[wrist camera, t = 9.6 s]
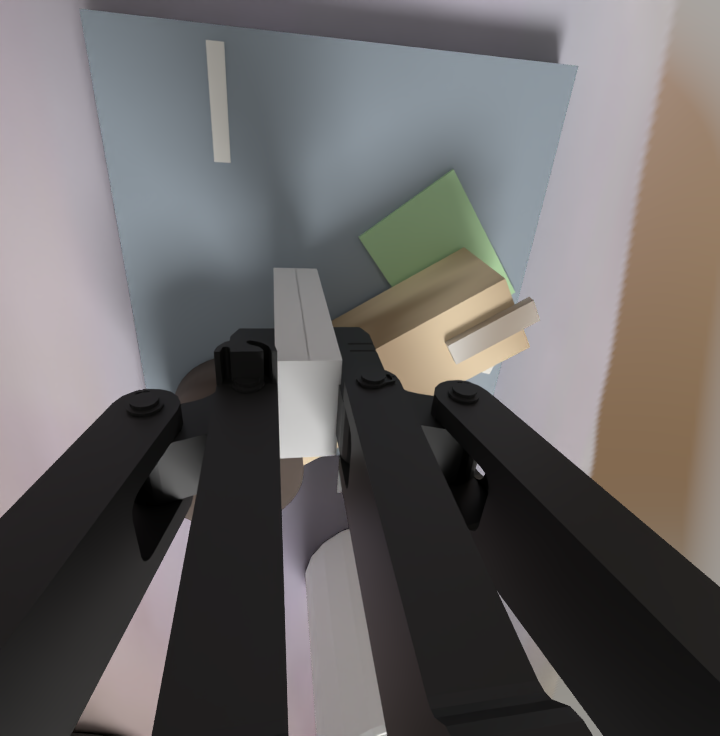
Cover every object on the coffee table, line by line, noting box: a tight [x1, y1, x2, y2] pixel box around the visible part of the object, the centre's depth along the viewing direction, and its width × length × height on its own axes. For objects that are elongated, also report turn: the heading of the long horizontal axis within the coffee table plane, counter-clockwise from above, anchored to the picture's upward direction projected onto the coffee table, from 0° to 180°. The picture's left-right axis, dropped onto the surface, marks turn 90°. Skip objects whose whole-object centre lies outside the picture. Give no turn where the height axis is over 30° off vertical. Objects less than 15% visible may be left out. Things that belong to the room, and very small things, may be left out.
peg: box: [175, 247, 540, 521], centre depth 17 cm, size 14×5×4 cm, turn 117°
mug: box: [305, 529, 387, 736], centre depth 23 cm, size 8×12×10 cm, turn 0°
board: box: [80, 9, 578, 455], centre depth 18 cm, size 15×16×1 cm
